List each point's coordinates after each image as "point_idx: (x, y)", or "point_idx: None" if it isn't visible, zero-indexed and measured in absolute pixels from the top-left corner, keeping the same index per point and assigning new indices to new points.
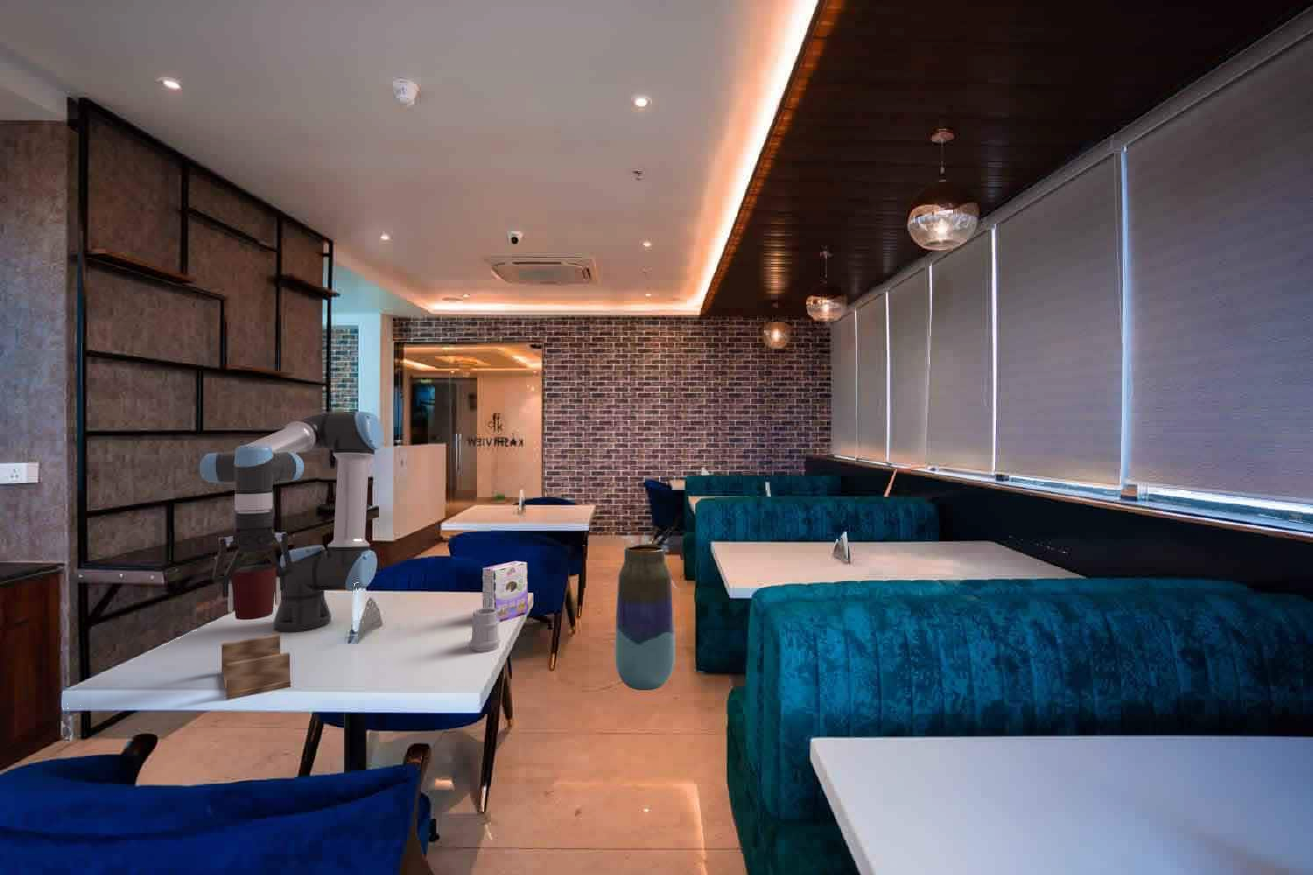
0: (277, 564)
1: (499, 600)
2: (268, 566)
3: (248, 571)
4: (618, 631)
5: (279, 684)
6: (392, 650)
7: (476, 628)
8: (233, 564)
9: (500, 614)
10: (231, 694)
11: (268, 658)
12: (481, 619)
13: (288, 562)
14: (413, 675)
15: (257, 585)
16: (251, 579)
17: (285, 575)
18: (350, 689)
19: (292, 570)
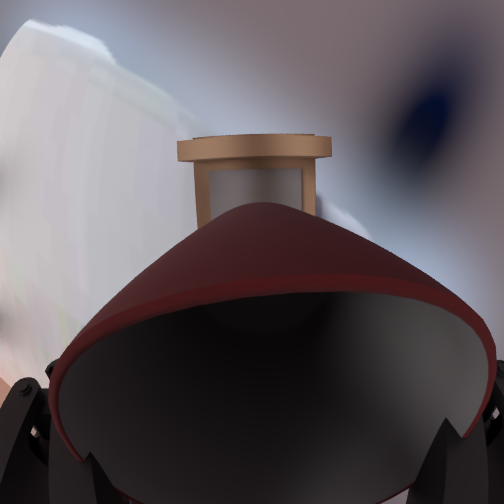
0: (61, 462)
1: None
2: (161, 499)
3: (297, 494)
4: None
5: (214, 136)
6: (36, 251)
7: None
8: (477, 483)
9: None
10: (306, 134)
11: (230, 137)
12: None
13: (2, 436)
14: (31, 102)
15: (259, 218)
16: (338, 235)
17: (52, 363)
18: (109, 72)
19: (17, 386)
